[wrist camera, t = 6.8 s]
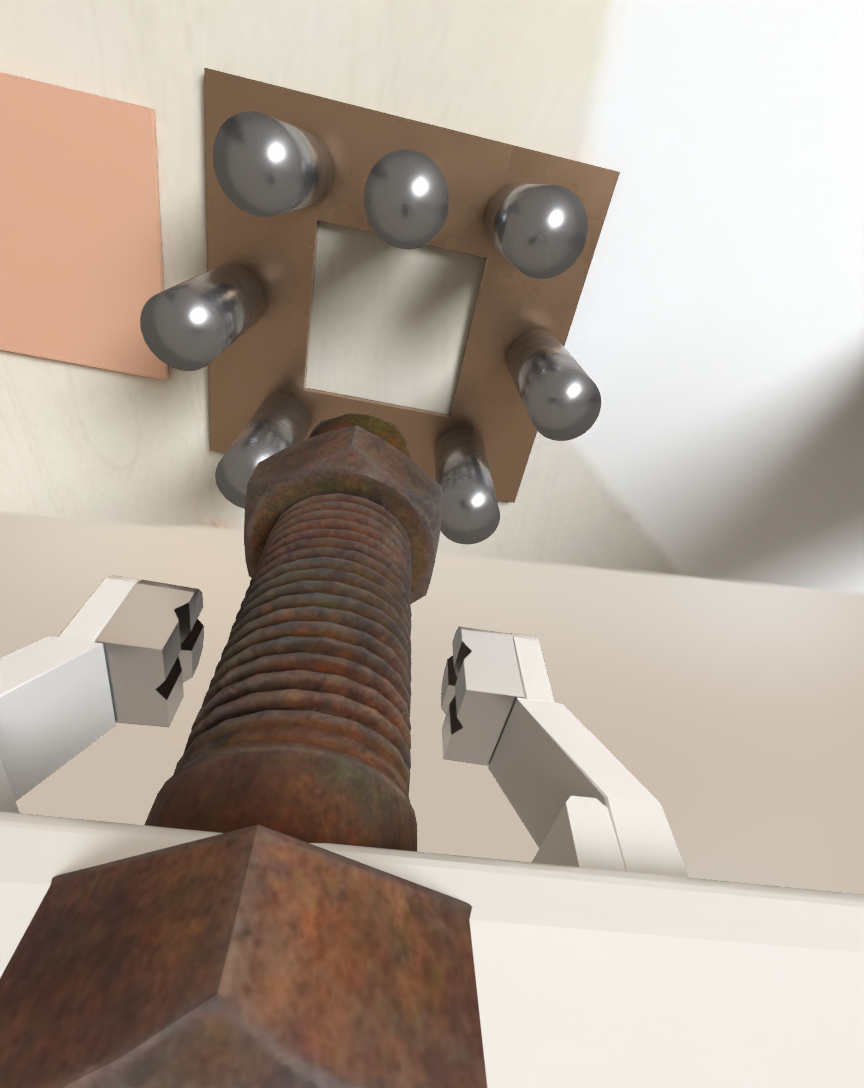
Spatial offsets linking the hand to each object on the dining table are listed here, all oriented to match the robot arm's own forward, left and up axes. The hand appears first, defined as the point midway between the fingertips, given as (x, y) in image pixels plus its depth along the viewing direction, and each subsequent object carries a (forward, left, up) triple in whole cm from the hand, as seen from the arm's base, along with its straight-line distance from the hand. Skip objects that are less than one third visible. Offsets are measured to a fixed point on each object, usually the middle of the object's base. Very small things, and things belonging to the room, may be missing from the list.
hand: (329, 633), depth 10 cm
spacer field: (0, 0, -26) cm, 26 cm away
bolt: (0, 0, -8) cm, 8 cm away
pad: (+19, -1, -26) cm, 32 cm away
